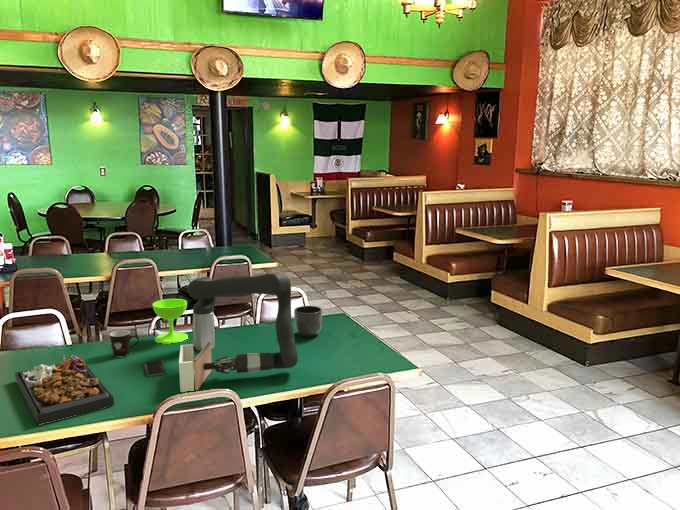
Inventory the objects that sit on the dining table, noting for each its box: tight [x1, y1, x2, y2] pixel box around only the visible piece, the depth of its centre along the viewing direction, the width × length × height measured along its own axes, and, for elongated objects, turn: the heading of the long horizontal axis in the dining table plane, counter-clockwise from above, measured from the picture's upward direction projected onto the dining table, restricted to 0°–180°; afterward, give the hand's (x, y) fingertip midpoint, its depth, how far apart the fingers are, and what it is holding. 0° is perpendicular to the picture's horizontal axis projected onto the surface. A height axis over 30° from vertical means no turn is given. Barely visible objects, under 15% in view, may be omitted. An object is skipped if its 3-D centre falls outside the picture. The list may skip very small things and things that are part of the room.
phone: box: [143, 359, 167, 377], centre depth 235 cm, size 8×1×15 cm
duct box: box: [178, 343, 195, 394], centre depth 221 cm, size 5×20×12 cm, turn 14°
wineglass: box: [152, 298, 189, 345], centre depth 270 cm, size 16×16×18 cm
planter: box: [293, 305, 323, 338], centre depth 278 cm, size 14×14×13 cm
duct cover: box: [194, 342, 213, 391], centre depth 222 cm, size 1×19×12 cm, turn 176°
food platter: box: [14, 355, 115, 426], centre depth 211 cm, size 45×25×10 cm, turn 38°
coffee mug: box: [109, 329, 140, 357], centre depth 250 cm, size 12×9×10 cm
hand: (204, 366), depth 221 cm, fingers closed
